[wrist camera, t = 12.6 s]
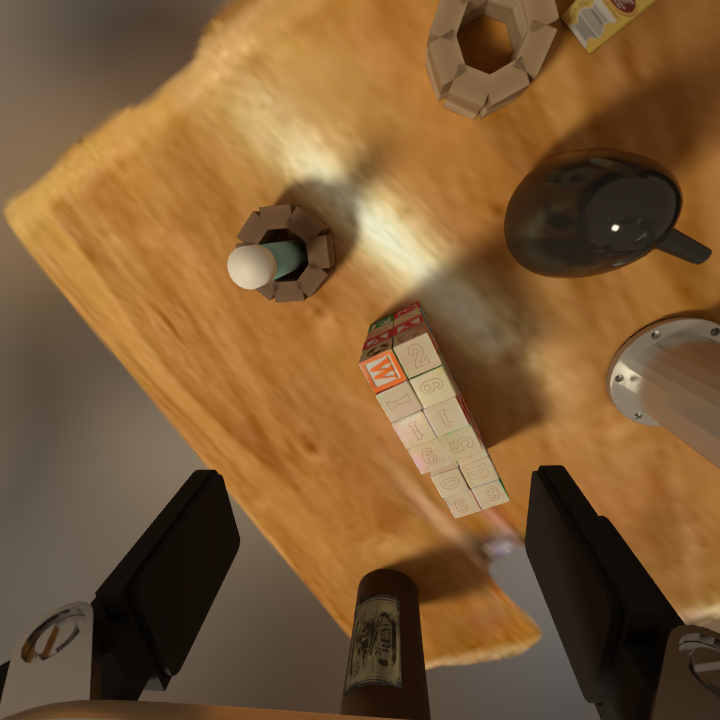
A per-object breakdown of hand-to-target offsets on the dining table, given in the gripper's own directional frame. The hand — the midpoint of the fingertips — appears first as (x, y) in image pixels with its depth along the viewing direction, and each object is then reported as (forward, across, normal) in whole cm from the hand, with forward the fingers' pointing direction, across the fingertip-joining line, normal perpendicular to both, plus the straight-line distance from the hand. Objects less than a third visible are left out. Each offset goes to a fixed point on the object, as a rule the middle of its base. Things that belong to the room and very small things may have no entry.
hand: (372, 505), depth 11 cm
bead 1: (+30, +10, -6) cm, 32 cm away
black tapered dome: (+31, -16, -7) cm, 35 cm away
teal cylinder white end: (+30, +10, -6) cm, 32 cm away
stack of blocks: (+31, -4, +11) cm, 33 cm away
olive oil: (+31, +3, +46) cm, 55 cm away
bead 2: (+30, -9, -21) cm, 38 cm away
